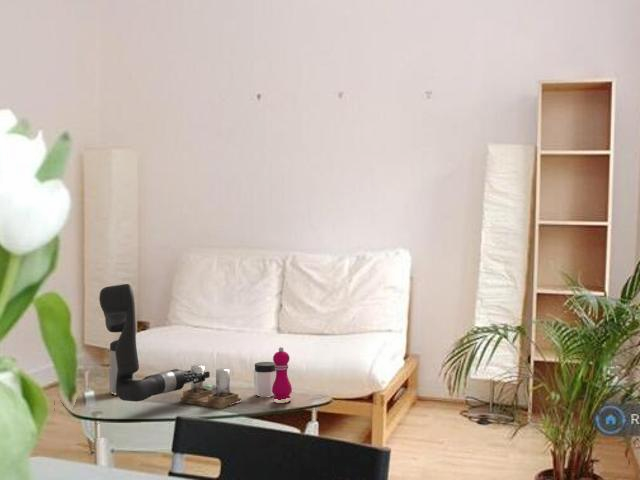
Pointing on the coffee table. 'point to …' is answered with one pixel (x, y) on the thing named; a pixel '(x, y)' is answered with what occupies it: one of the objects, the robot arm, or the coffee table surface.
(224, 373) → the seated billet
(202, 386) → the cylinder
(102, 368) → the coffee table surface
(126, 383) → the robot arm
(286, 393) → the pepper mill
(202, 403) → the wooden tray
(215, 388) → the grey square box
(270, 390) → the jar
